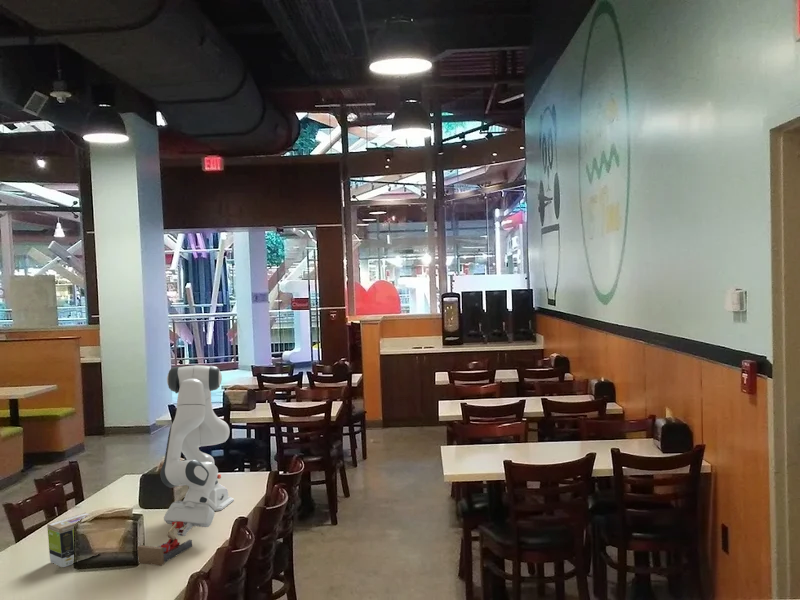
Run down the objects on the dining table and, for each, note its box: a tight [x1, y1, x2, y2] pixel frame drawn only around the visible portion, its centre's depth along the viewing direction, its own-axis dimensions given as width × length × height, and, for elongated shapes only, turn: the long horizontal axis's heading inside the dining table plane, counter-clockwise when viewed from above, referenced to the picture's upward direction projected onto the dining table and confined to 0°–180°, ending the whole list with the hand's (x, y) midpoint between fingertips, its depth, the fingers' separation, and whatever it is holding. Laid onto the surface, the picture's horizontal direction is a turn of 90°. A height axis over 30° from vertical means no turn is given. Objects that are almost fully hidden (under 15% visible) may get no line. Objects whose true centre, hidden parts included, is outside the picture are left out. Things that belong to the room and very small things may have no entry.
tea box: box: [46, 512, 92, 568], centre depth 267 cm, size 15×10×15 cm, turn 141°
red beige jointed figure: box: [160, 521, 185, 554], centre depth 269 cm, size 3×14×10 cm, turn 171°
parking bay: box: [137, 539, 193, 567], centre depth 266 cm, size 19×10×6 cm, turn 159°
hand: (180, 535), depth 274 cm, fingers closed
